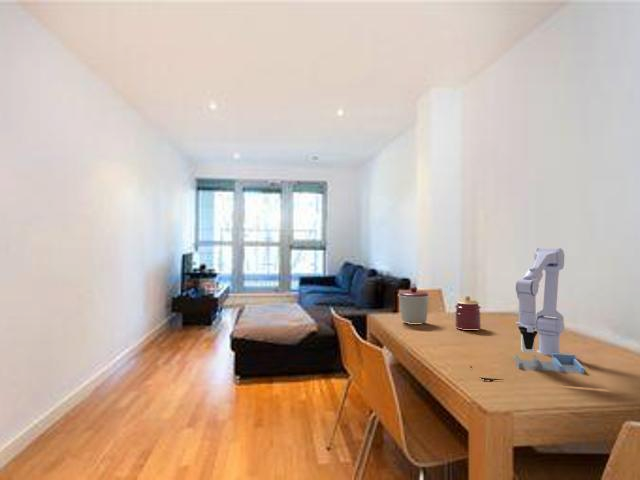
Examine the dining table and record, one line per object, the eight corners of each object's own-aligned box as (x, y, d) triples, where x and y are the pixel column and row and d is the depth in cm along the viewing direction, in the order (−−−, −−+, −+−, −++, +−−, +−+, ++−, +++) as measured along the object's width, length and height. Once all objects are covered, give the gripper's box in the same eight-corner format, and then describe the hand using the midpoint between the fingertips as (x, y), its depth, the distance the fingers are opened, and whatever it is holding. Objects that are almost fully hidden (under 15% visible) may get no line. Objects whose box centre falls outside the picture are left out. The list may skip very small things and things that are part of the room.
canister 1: (392, 322, 244) (391, 286, 244) (417, 319, 251) (416, 284, 251) (411, 328, 227) (410, 289, 227) (437, 324, 235) (436, 287, 235)
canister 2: (484, 331, 217) (484, 297, 217) (459, 331, 217) (459, 297, 217) (475, 326, 230) (475, 294, 230) (452, 326, 230) (451, 294, 230)
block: (521, 349, 160) (520, 333, 160) (532, 350, 158) (532, 334, 158) (522, 352, 156) (522, 336, 156) (534, 353, 155) (534, 336, 155)
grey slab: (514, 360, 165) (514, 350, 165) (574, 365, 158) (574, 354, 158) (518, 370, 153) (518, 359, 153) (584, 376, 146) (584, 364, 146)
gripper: (513, 307, 165) (513, 341, 165) (518, 314, 151) (518, 351, 152) (533, 308, 163) (533, 343, 163) (539, 315, 149) (540, 353, 149)
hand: (527, 347), depth 157 cm, fingers closed on block, 4 cm apart
